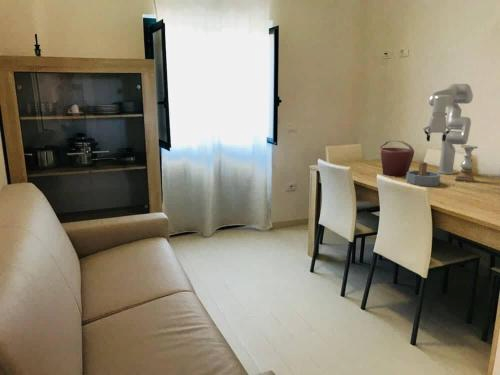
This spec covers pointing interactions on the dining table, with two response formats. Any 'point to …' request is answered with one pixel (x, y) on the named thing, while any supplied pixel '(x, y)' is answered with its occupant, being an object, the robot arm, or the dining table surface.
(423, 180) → the grey bowl
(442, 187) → the dining table surface
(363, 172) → the dining table surface
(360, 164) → the dining table surface
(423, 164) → the brown rectangular block
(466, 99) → the robot arm
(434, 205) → the dining table surface
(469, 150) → the candle holder
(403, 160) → the bucket
